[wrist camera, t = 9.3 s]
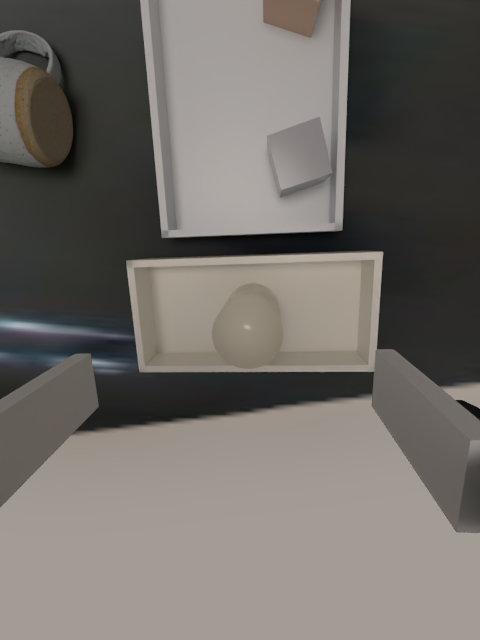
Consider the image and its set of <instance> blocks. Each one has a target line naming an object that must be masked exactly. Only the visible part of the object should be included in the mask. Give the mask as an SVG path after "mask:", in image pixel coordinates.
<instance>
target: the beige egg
mask: <svg viewBox="0 0 480 640" xmlns="http://www.w3.org/2000/svg"><path fill="white" fill-rule="evenodd" d="M212 340H213V344H214V347H215V349H216V351H217V353H218V354H219V355H220V356H221V357H222V358H223V359H224V360H225V361H226V362H227V363H229V364H231V365H233V366H235V367H238V368H243V369H253V368H258V367H261V366H263V365H266V364H267V363H269V362H270V361H271V360H273V359H274V357H275V356H276V355H277V354H278V352H279V350H280V348H281V346H282V342H283V328H282V322H281V316H280V311H279V305H278V301H277V298H276V296H275V295H274V293H273V292H272V291H271V290H270V289H269V288H267V287H266V286H264V285H261V284H257V283H249V284H245V285H242V286H240V287H239V288H237V289H236V290H235V291H234V292H233V293H232V294H231V296H230V297H229V299H228V300H227V302H226V303H225V305H224V306H223V308H222V309H221V311H220V313H219V314H218V316H217V317H216V319H215V321H214V324H213V328H212Z"/></svg>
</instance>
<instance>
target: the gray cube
mask: <svg viewBox="0 0 480 640" xmlns="http://www.w3.org/2000/svg"><path fill="white" fill-rule="evenodd" d="M267 153H268V157H269V160H270V164H271V168H272V172H273V175H274V179H275V183H276V187H277V190H278V194H279V197H282V196H285V195H288V194H291V193H294V192H297V191H300V190H303V189H306V188H309V187H312V186H315V185H318V184H321V183H324V182H325V180H326V179H327V178H328V177H329V176H330V175H331V174H332V173H333V172H332V168H331V163H330V159H329V155H328V150H327V146H326V142H325V137H324V133H323V129H322V124H321V120H320V117H317V118H314V119H311V120H309V121H306V122H303V123H300V124H298V125H295V126H292V127H290V128H287V129H284V130H281V131H279V132H276V133H273V134H270V135H268V136H267Z"/></svg>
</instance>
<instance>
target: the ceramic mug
mask: <svg viewBox="0 0 480 640" xmlns="http://www.w3.org/2000/svg"><path fill="white" fill-rule="evenodd" d="M24 50H25V51H30V52H34V53H37V54H41V55H42V56H43V57H48V58H49V64H48V67H47V71H44V70H42V69H41V68H39V67H36V66H34V65H31V64H29V63H26V62H23V61H20V60H15V59H10V58H7V57H8V56H10V55H12V54H14V53H16V52H18V51H24ZM60 81H61V66H60V63H59V61H58V59H57V57H56V55H55V53H54V51H53V50H52V48H51V47H50V45H49V44H48V43H47V42H46V41H45V40H44V39H43V38H42V37H40V36H38V35H36V34H34V33H31V32H27V31H22V30H15V31H8V32H4V33H1V34H0V162H4V163H12V164H18V165H24V166H30V167H54V166H57V165H59V164H61V163H62V162H63V161H64V160H65V159H66V157H67V155H68V153H69V151H70V149H71V146H72V140H73V121H72V115H71V110H70V106H69V104H68V101H67V98H66V96H65V94H64V92H63V90H62V89H61V87H60V86H59V83H60Z"/></svg>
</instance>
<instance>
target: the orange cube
mask: <svg viewBox="0 0 480 640" xmlns="http://www.w3.org/2000/svg"><path fill="white" fill-rule="evenodd" d="M322 1H323V0H263V22H264V23H267V24H270V25H273V26H276V27H279V28H282V29H285V30H288V31H291V32H294V33H297V34H300V35H303V36H307V37H310V38H311V36H312V33H313V30H314V26H315V23H316V20H317V17H318V14H319V11H320V7H321V4H322Z"/></svg>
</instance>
